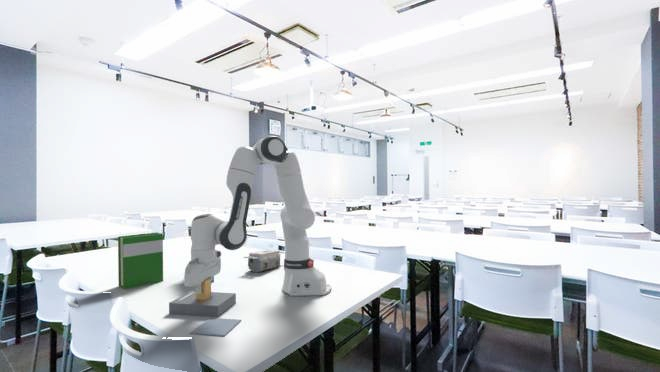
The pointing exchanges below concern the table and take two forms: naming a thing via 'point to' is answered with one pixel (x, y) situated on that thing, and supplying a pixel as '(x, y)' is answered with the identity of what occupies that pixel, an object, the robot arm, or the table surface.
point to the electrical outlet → (263, 260)
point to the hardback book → (140, 259)
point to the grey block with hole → (202, 304)
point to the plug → (205, 290)
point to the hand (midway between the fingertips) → (203, 291)
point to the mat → (216, 327)
